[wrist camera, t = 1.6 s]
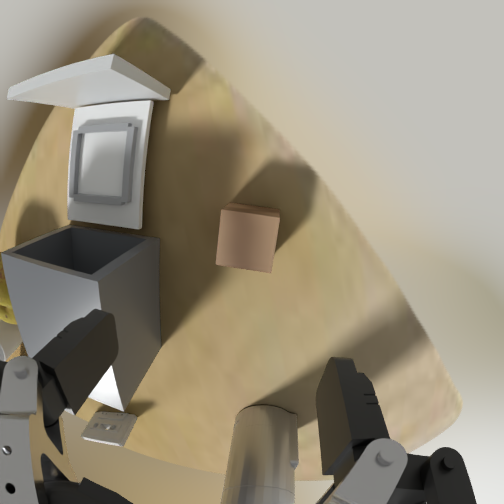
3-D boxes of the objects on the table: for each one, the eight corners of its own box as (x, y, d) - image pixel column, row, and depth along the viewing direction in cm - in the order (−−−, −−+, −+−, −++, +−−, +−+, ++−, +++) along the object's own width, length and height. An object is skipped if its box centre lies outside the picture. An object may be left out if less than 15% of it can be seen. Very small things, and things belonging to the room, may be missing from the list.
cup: (14, 321, 38) (-16, 345, 28) (10, 290, 35) (-24, 312, 26) (38, 342, 38) (8, 369, 29) (35, 311, 36) (0, 338, 26)
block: (279, 209, 28) (280, 217, 23) (271, 255, 29) (271, 273, 24) (230, 202, 28) (221, 209, 23) (225, 248, 29) (215, 264, 25)
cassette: (99, 416, 43) (84, 440, 35) (94, 410, 42) (78, 434, 35) (139, 418, 41) (125, 448, 33) (134, 412, 40) (119, 442, 33)
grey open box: (160, 238, 29) (97, 281, 18) (161, 346, 34) (124, 411, 22) (69, 224, 30) (0, 252, 18) (81, 322, 35) (33, 368, 23)
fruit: (33, 230, 31) (-15, 250, 21) (62, 300, 34) (22, 332, 24) (6, 252, 33) (-33, 271, 23) (32, 312, 36) (-3, 338, 26)
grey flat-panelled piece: (171, 87, 24) (114, 51, 13) (155, 228, 28) (95, 263, 17) (75, 98, 24) (9, 85, 13) (66, 216, 29) (1, 240, 18)
